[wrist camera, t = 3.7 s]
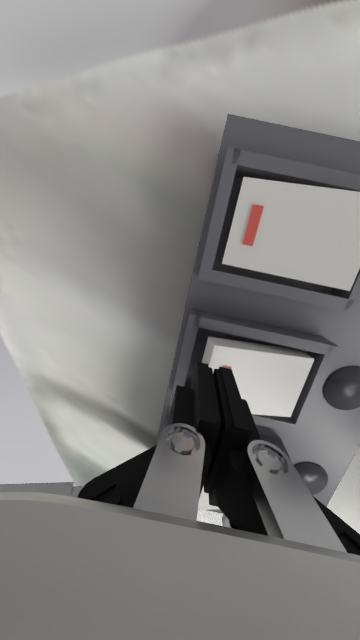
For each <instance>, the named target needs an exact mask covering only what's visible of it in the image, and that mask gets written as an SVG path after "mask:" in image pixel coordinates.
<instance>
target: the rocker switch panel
mask: <svg viewBox="0 0 360 640" xmlns="http://www.w3.org/2000/svg"><path fill="white" fill-rule="evenodd" d="M243 177H249V178H257V179H264V180H272V181H280V182H287V183H295V184H303V185H310V186H318V187H326V188H333V189H341V190H349V191H356V192H360V142H359V141H354V140H349V139H345V138H340V137H335V136H330V135H326V134H321V133H316V132H311V131H306V130H302V129H297V128H292V127H287V126H282V125H278V124H273V123H268V122H263V121H258V120H254V119H249V118H244V117H239V116H235V115H230V114H228V116H227V121H226V125H225V130H224V134H223V138H222V143H221V147H220V151H219V156H218V161H217V165H216V170H215V174H214V179H213V184H212V188H211V193H210V197H209V202H208V207H207V211H206V216H205V220H204V225H203V230H202V234H201V239H200V243H199V248H198V253H197V257H196V262H195V266H194V271H193V276H192V280H191V285H190V289H189V294H188V299H187V303H186V308H185V312H184V317H183V322H182V326H181V331H180V335H179V340H178V345H177V349H176V354H175V358H174V363H173V367H172V372H171V377H170V381H169V386H168V390H167V395H166V400H165V404H164V409H163V413H162V418H161V423H160V427H159V432H158V436H157V441H156V445H158V442H159V440H160V437H161V434H162V432H163V431H164V429H165V428H166V427H167V426H169V419H170V413H171V408H172V403H173V398H174V394H175V390H176V386H177V385H179V386H184V387H188V388H190V386H191V382H192V378H193V374H194V370H195V366H196V362H201V363H202V359H203V355H204V351H205V348H206V344H207V340H208V337H215V338H222V339H229V340H236V341H243V342H250V343H257V344H264V345H271V346H278V347H285V348H292V349H299V350H302V351H303V352H305V353H306V354H308V355H309V356H311V357H312V358H314V362H313V364H312V367H311V369H310V371H309V374H308V376H307V379H306V381H305V384H304V386H303V388H302V391H301V393H300V396H299V398H298V400H297V403H296V405H295V408H294V410H293V412H292V415H291V417H282V416H269V415H256V414H252V417H253V419H254V422H255V425H256V428H257V430H258V433H259V436H260V438H261V440H263V441H267V442H269V443H272V444H274V445H275V446H277V447H278V448H280V449H281V450H282V451H283V452H284V453H285V454H286V455H287V456H288V458H289V459H290V460H291V462H292V464H293V465H294V467H295V469H296V470H297V472H298V473H299V475H300V477H301V478H302V480H303V481H304V483H305V485H306V486H307V488H308V490H309V491H310V493H311V494H312V495H313V496H314V497H315V498H316V499H317V500H319V501H320V502H321V503H322V504H323V505H325V506H327V505H328V503H329V501H330V499H331V497H332V495H333V494H334V492H335V490H336V488H337V486H338V484H339V483H340V481H341V479H342V477H343V475H344V473H345V471H346V470H347V468H348V466H349V464H350V462H351V460H352V459H353V457H354V455H355V453H356V451H357V449H358V448H359V446H360V269H359V271H358V273H357V276H356V278H355V280H354V283H353V285H352V288H351V290H350V291H347V290H342V289H338V288H333V287H328V286H324V285H319V284H314V283H310V282H305V281H300V280H296V279H291V278H286V277H282V276H277V275H272V274H268V273H263V272H258V271H254V270H249V269H245V268H240V267H235V266H231V265H226V264H222V261H223V257H224V253H225V249H226V245H227V241H228V237H229V233H230V229H231V225H232V221H233V217H234V213H235V209H236V205H237V201H238V197H239V193H240V189H241V185H242V181H243ZM209 511H213V512H218V513H222V514H223V512H222V511H221V510H220V509H212V510H209Z"/></svg>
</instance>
